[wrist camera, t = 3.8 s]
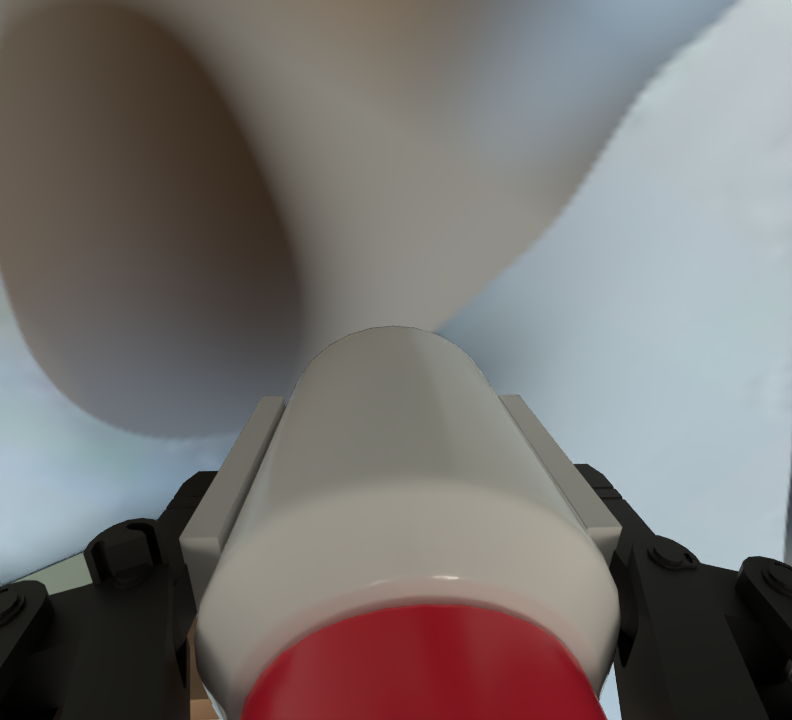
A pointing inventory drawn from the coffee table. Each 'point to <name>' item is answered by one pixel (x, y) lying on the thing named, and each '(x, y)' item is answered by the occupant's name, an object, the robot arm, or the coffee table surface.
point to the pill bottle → (405, 556)
